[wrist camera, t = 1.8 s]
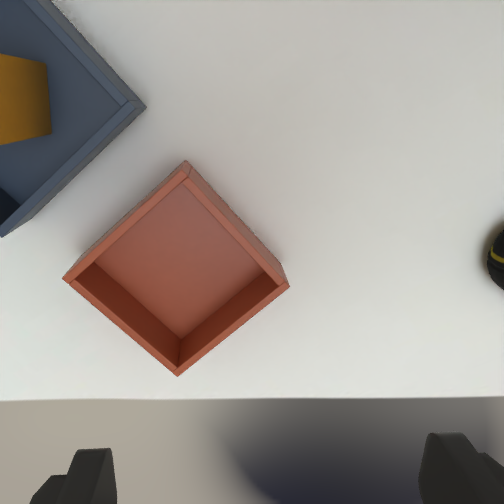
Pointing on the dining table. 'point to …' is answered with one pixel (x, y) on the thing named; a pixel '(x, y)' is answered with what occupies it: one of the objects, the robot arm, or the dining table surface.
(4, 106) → the mustard box
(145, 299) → the terracotta bin
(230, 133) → the dining table surface
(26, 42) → the slate bin
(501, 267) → the tape measure
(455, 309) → the dining table surface
